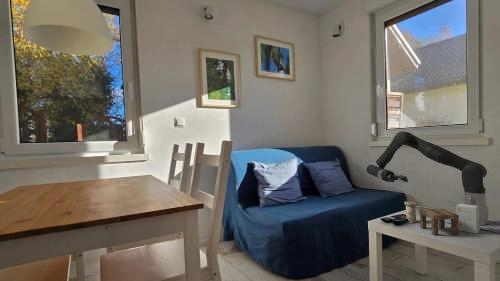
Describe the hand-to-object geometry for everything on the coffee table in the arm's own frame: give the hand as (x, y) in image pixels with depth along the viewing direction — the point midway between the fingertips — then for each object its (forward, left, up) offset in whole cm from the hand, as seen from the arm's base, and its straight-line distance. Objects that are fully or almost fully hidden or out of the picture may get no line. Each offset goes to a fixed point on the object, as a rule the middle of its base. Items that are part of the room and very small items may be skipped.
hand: (400, 180), depth 163 cm
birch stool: (-1, +9, -22) cm, 24 cm away
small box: (-21, +25, -23) cm, 40 cm away
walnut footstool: (-6, +25, -22) cm, 34 cm away
